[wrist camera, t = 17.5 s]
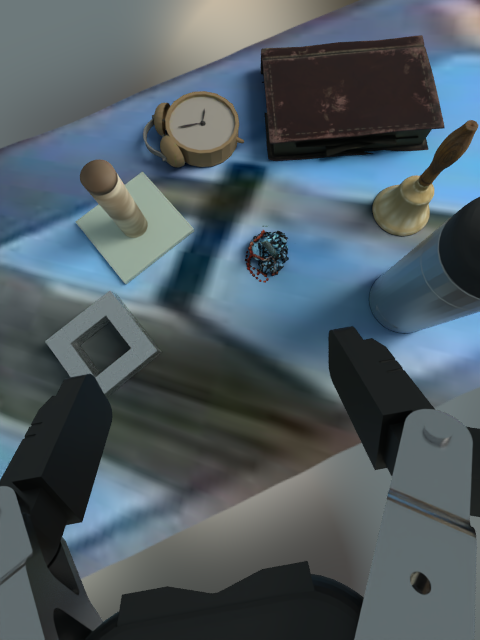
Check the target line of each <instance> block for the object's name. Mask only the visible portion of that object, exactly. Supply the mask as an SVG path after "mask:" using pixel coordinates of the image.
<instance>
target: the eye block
mask: <svg viewBox="0 0 480 640" xmlns="http://www.w3.org/2000/svg"><path fill="white" fill-rule="evenodd" d="M110 321H111V323H112V324H113V325H114V326H115V328H116V329H117V330H118V332H119V333H120V334H121V336H122V337H123V338H124V339H125V341H126V342H127V343H128V345H129V346H130V347H131V349H130V350H129V351H128V352H126V353H125V354H124V355H123V356H121V357H120V358H119V359H118V360H116V361H115V362H114V363H113V364H111V365H110V366H109V367H108V368H107V369H105V370H104V371H103V372H102V373H100V372H99V371H98V369H97V368H96V367H95V365H94V364H93V362H92V361H91V360H90V358H89V357H88V356H87V354H86V353H85V352H84V350H83V349H82V348H81V346H80V345H81V344H83V343H84V342H85V341H86V340H88V339H89V338H90V337H91V336H93V335H94V334H95V333H96V332H98V331H99V330H100V329H101V328H103V327H104V326H105V325H106V324H108V323H109V322H110ZM45 342H46V343H47V345H48V346H49V347H50V349H51V350H52V352H53V353H54V354H55V356H56V357H57V359H58V360H59V361H60V363H61V364H62V366H63V367H64V368H65V370H66V371H67V373H68V374H69V375H70V377H74V376H80V375H85V374H92V375H93V376H94V377H95V378H96V380H97V382H98V384H99V385H100V387H101V389H102V391H103V393H104V394H105V396H106V398H107V397H109V396H110V395H111V394H112V393H114V392H115V391H116V390H117V389H118V388H120V387H121V386H122V385H123V384H124V383H126V382H127V381H128V380H129V379H131V378H132V377H133V376H134V375H135V374H137V373H138V372H139V371H140V370H141V369H143V368H144V367H145V366H146V365H148V364H149V363H150V362H151V361H152V360H154V359H155V358H156V357H157V356H158V355H160V354H161V353H162V351H161V350H160V349H159V347H158V346H157V345H156V344H155V342H154V341H153V340H152V339H151V337H150V336H149V335H148V333H147V332H146V331H145V330H144V328H143V327H142V326H141V325H140V323H139V322H138V321H137V320H136V318H135V317H134V316H133V314H132V313H131V312H130V311H129V309H128V308H127V307H126V306H125V304H124V303H123V302H122V301H121V299H120V298H119V297H118V296H117V295H116V294H114V293H113V292H111V291H109V292H108V293H106V294H105V295H104V296H102V297H101V298H100V299H99V300H97V301H96V302H95V303H93V304H92V305H91V306H90V307H88V308H87V309H86V310H85V311H83V312H82V313H81V314H79V315H78V316H77V317H76V318H74V319H73V320H72V321H71V322H69V323H68V324H67V325H65V326H64V327H63V328H62V329H60V330H59V331H58V332H56V333H55V334H54V335H53V336H51V337H50V338H49V339H48V340H46V341H45Z"/></svg>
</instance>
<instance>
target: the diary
mask: <svg viewBox="0 0 480 640" xmlns="http://www.w3.org/2000/svg"><path fill="white" fill-rule="evenodd" d="M261 74H264V82H262V83H265V94H266V105H267V113H265V124H266V138H267V151H268V159H269V160H273V161H283V160H301V159H314V158H325V157H335V156H344V155H366V154H374V153H368V152H367V151H379V150H391V151H417V150H428V146H427V141H426V137H427V135H428V134H429V132H430V131H431V130H432V129H441V128H444V122H443V118H442V113H441V108H440V104H439V99H438V95H437V90H436V86H435V81H434V77H433V73H432V70H431V66H430V63H429V59H428V56H427V52H426V49H425V47H424V41H423V36H422V35H421V36H411V37H403V38H395V39H386V40H377V41H356V42H338V43H330V44H322V45H313V46H305V47H287V48H265V49H262V50H261Z"/></svg>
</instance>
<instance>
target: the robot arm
mask: <svg viewBox="0 0 480 640" xmlns="http://www.w3.org/2000/svg"><path fill="white" fill-rule="evenodd" d="M369 303H370V307H371V311H372V313H373V315H374V316H375V318H376V319H377V320H378V322H379V323H381V324H382V325H383V326H384V327H386V328H388V329H389V330H392V331H395V332H398V333H413V332H416V331H419V330H422V329H426V328H429V327H433V326H436V325H439V324H442V323H445V322H449V321H452V320H455V319H458V318H461V317H464V316H468V315H471V314H474V313H477V312H480V197H478V198H476V199H475V200H473V201H471V202H470V203H468V204H467V205H465V206H464V207H463V208H462V209H460V210H459V211H458V212H457V213H456V214H454V215H453V216H452V217H451V218H450V219H448V220H447V221H446V222H445V223H444V224H442V225H441V226H440V227H439V228H438V229H437V230H435V231H434V232H433V233H432V234H431V235H430V236H428V237H427V238H426V239H425V240H424V241H422V242H421V243H420V244H419V245H418V246H416V247H415V248H414V249H413V250H412V251H410V252H409V253H408V254H407V255H406V256H404V257H403V258H402V259H401V260H400V261H398V262H397V263H396V264H395V265H394V266H392V267H391V268H390V269H389V270H387V271H386V272H385V273H384V274H383V275H382V276H380V277H379V278H378V279H377V280H376V281H375V283H374V284H373V286H372V288H371V290H370V296H369ZM329 372H330V376H331V379H332V382H333V384H334V386H335V388H336V390H337V392H338V394H339V396H340V399H341V401H342V403H343V405H344V407H345V409H346V411H347V413H348V415H349V417H350V419H351V421H352V423H353V425H354V428H355V430H356V432H357V434H358V436H359V438H360V440H361V442H362V444H363V446H364V448H365V450H366V452H367V454H368V457H369V458H370V461H371V463H372V465H373V467H374V469H375V470H378V469H383V468H388V470H389V472H390V474H391V476H392V480H391V484H390V489H389V492H388V496H387V501H386V505H385V509H384V513H383V517H382V522H381V526H380V531H379V535H378V539H377V543H376V548H375V552H374V556H373V561H372V565H371V570H370V574H369V578H368V582H367V587H366V591H365V596H364V598H363V597H362V596H361V595H360V594H358V593H357V592H355V591H354V590H352V589H351V588H349V587H348V586H346V585H344V584H342V583H340V582H338V581H336V580H333V579H331V578H327V577H324V576H321V575H315V574H310V569H309V565H308V562H307V561H305V562H299V563H294V564H289V565H283V566H278V567H272V568H267V569H262V570H260V571H258V572H256V573H254V574H252V575H250V576H249V577H247V578H245V579H243V580H241V581H239V582H237V583H235V584H234V585H232V586H230V587H228V588H226V589H224V590H222V591H220V592H218V593H213V594H212V593H205V592H198V591H192V590H186V589H180V588H174V587H162V588H157V589H151V590H146V591H141V592H135V593H129V594H124V595H122V598H121V604H120V611H119V612H117V613H115V614H114V615H113V616H111V617H110V618H108V619H107V620H105V621H104V622H103V621H102V619H101V617H100V616H99V614H98V612H97V611H96V610H95V608H94V607H93V605H92V604H91V602H90V600H89V598H88V596H87V594H86V592H85V589H84V586H83V584H82V581H81V579H80V576H79V574H78V571H77V569H76V566H75V564H74V561H73V559H72V556H71V554H70V551H69V548H68V546H67V543H66V541H65V539H64V538H63V537H62V535H63V532H64V529H65V526H66V525H69V524H74V523H80V522H82V521H83V518H84V514H85V511H86V508H87V504H88V501H89V497H90V494H91V491H92V487H93V484H94V480H95V477H96V474H97V470H98V467H99V463H100V460H101V457H102V453H103V450H104V446H105V443H106V439H107V436H108V433H109V429H110V426H111V422H112V409H111V406H110V403H109V402H108V400H107V398H106V396H105V394H104V393H103V391H102V389H101V387H100V385H99V384H98V382H97V380H96V378H95V377H94V376H93V375H92V374H85V375H80V376H74V377H69V378H66V379H65V380H64V381H63V383H62V385H61V387H60V389H59V391H58V393H57V395H56V396H52V397H51V398H50V399H49V400H48V401H47V402H46V403H45V404H44V405H43V406H42V407H41V408H40V409H39V411H38V413H37V414H36V416H35V418H34V420H33V422H32V423H31V425H32V426H31V427H29V429H28V431H27V433H26V434H25V439H23V440H22V442H21V443H20V445H19V447H18V449H17V451H16V453H15V454H14V456H13V458H12V460H11V462H10V463H9V465H8V467H7V469H6V471H5V473H4V474H3V476H2V478H1V480H0V640H474V633H475V631H474V630H475V591H476V590H475V589H476V549H477V546H476V545H477V544H476V533H475V529H474V528H473V527H471V526H470V515H471V516H477V517H480V429H477V428H470V427H466V426H465V425H463V423H462V422H460V421H459V420H458V419H456V418H455V417H453V416H451V415H449V414H447V413H445V412H442V411H439V410H435V409H434V407H433V406H432V405H431V404H430V402H429V401H428V400H427V399H426V397H425V396H424V395H423V393H422V392H421V391H420V390H419V388H418V387H417V386H416V385H415V383H414V382H413V381H412V379H411V378H410V377H409V376H408V374H407V373H406V372H405V371H403V369H402V367H401V365H400V364H399V363H398V362H397V361H395V358H394V356H393V355H392V354H391V353H390V351H389V350H388V349H387V348H386V347H385V346H384V345H382V344H380V343H379V342H377V341H376V340H374V339H372V338H371V339H366V340H363V339H362V337H361V336H360V334H359V333H358V332H357V330H356V329H355V328H354V327H353V326H351V327H345V328H340V329H334V330H330V331H329Z"/></svg>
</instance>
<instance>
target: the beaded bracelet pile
mask: <svg viewBox="0 0 480 640" xmlns="http://www.w3.org/2000/svg"><path fill="white" fill-rule="evenodd" d="M262 227H264V226H262ZM266 227H267V226H266ZM287 238H288V237H286V236H285V233H282V232H280V231H277V232H273V233H271V232H265V231H264V230H263V231H261V234H260V235H258V236H254V239H253V240H252V242H250V245H249V248H248V250H249V253H250V255H249V258H248V259H245V261H246V262H248V263H246V264H247V266H248V267H247V269H248V270H249V271H250V273H251V274H252V276H253V277H255V274H253V272H252V271H251V270H250V267H252V266H251V265H250V264H251V262H250V260H251V258H255V259H256V260H258V265H259V266H260V268H261V269H257V271H258V272H257V275H259V274H260V273H261V274H262V275H264V276H265V277H267V274H268V273H269V272H271V273H272V276H274V275H275V274H276V275H277V274H278V272H279V271H280V270H281V269H282V268H283V267H284V266H283V263H285V261H286V260H289V258H288V257H287V250H288V246H287V244H286V243H287ZM246 253H248V251H246ZM247 256H248V255H246V258H247ZM252 269H253V270H254V269H255V267H253V268H252ZM259 270H260V271H259ZM255 278H256V279H258V277H255ZM268 280H269V279H268V278H267V279H266V281H268ZM259 281H260V282H261V280H259ZM266 281H263V282H265V283H266Z"/></svg>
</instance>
